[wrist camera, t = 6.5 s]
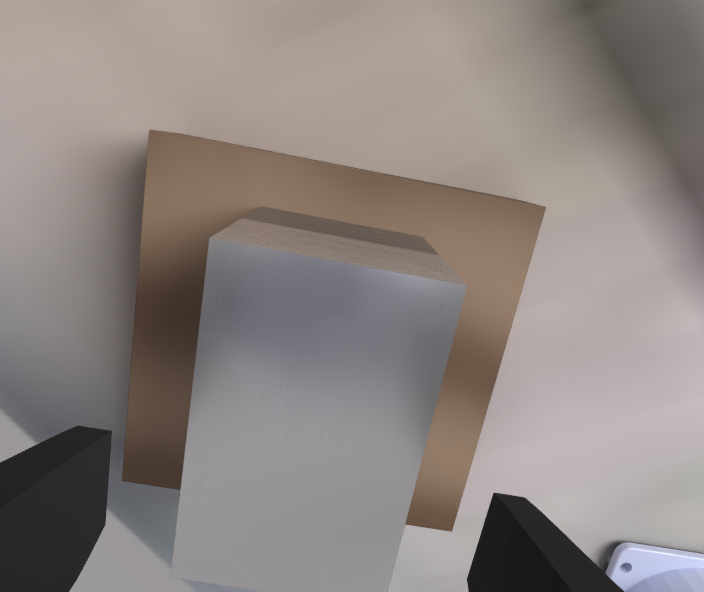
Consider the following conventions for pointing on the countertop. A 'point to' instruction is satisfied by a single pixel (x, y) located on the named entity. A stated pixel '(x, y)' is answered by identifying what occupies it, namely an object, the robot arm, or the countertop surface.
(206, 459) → the block
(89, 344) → the countertop surface
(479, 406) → the stand
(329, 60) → the countertop surface
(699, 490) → the countertop surface
